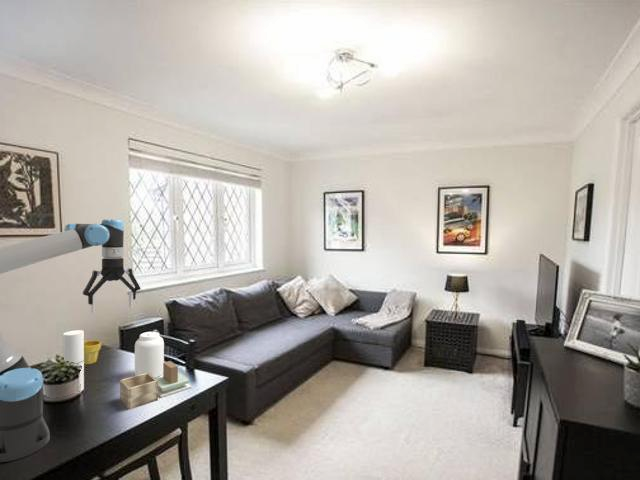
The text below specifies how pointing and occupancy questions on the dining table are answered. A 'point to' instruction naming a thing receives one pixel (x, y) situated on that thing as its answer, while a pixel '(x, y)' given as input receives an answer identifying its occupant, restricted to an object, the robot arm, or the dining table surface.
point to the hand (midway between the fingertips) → (112, 309)
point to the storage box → (138, 390)
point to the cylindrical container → (74, 350)
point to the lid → (171, 378)
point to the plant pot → (91, 351)
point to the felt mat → (173, 391)
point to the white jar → (149, 354)
